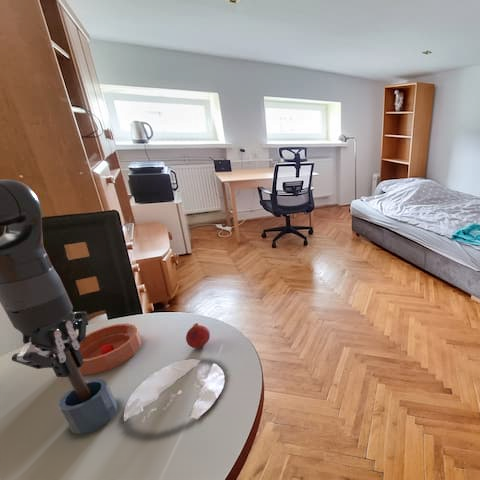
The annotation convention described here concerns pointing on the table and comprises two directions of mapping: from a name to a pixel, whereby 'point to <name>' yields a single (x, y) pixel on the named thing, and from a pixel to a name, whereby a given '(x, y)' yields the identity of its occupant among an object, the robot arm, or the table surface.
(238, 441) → the table surface
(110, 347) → the tomato
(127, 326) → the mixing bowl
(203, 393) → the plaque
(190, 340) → the onion
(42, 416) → the table surface
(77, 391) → the stick
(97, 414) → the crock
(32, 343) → the robot arm
